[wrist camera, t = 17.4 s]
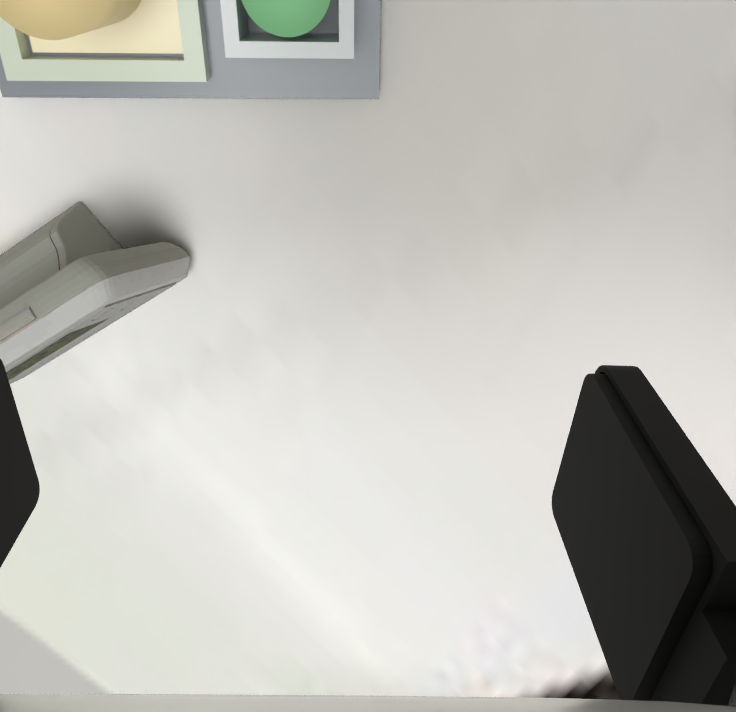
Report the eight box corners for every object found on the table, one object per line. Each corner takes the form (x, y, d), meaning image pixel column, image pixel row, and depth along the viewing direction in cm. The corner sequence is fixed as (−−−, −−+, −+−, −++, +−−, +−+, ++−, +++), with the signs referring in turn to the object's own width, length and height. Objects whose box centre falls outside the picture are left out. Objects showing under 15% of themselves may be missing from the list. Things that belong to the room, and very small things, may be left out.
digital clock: (7, 375, 45) (-74, 481, 36) (-82, 263, 40) (-202, 352, 31) (220, 301, 42) (190, 394, 33) (151, 173, 38) (95, 241, 29)
